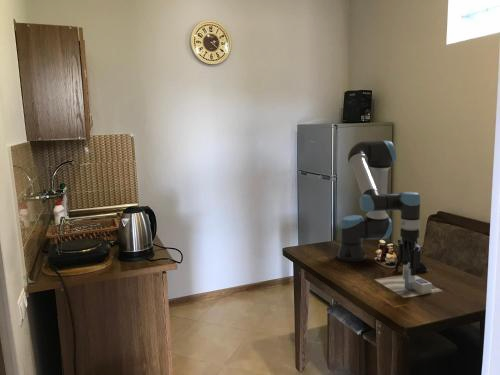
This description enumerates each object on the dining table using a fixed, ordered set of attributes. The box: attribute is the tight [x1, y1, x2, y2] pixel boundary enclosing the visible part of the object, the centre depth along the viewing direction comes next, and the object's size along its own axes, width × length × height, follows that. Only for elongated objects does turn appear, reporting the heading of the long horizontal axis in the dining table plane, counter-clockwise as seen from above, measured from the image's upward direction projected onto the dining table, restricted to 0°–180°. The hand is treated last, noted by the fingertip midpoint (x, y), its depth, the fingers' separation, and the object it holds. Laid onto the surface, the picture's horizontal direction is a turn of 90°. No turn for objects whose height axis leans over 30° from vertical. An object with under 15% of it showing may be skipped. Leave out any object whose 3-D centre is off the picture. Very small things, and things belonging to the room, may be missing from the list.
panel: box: [374, 274, 443, 299], centre depth 185 cm, size 22×20×1 cm
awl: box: [405, 263, 413, 289], centre depth 177 cm, size 3×3×11 cm
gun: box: [394, 253, 429, 273], centre depth 202 cm, size 3×16×10 cm, turn 79°
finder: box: [412, 275, 433, 295], centre depth 180 cm, size 10×5×4 cm, turn 16°
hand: (408, 280), depth 178 cm, fingers closed on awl, 3 cm apart
